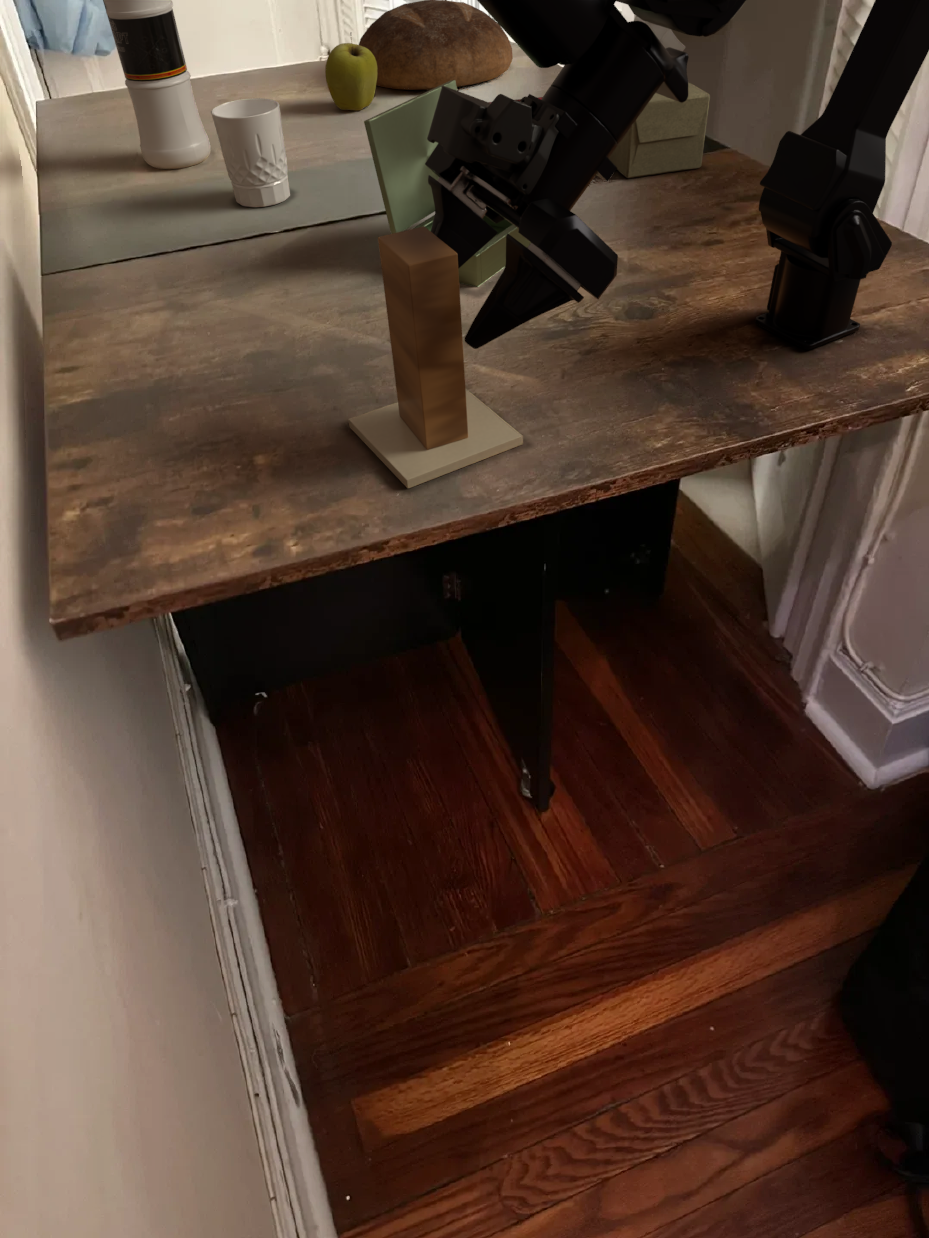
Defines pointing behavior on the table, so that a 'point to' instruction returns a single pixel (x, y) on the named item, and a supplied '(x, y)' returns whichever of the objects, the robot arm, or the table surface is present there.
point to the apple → (351, 76)
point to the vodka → (158, 83)
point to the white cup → (253, 150)
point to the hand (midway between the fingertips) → (442, 318)
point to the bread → (436, 45)
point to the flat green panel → (405, 158)
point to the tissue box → (665, 129)
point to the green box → (486, 253)
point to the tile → (422, 465)
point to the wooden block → (425, 334)
